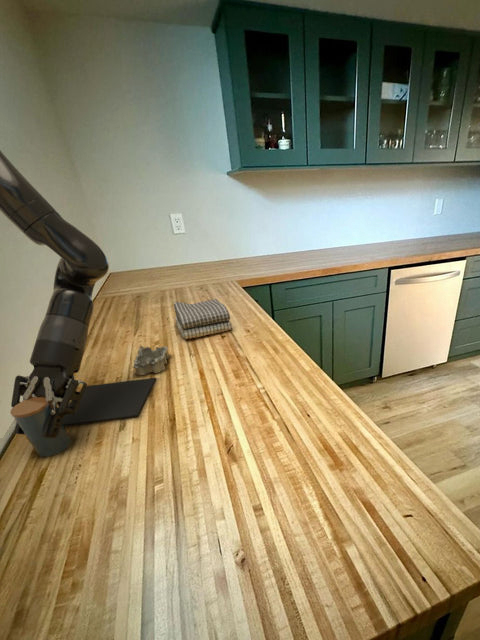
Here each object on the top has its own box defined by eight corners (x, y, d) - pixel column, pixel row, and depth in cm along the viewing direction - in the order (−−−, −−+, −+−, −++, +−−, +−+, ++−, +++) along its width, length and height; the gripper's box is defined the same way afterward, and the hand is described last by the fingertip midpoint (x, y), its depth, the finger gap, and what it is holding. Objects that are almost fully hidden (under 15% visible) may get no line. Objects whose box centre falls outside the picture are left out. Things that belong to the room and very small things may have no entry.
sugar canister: (30, 459, 60) (2, 417, 55) (47, 438, 65) (22, 398, 60) (62, 454, 60) (37, 412, 55) (77, 434, 65) (55, 394, 60)
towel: (184, 343, 99) (178, 318, 95) (175, 324, 113) (169, 301, 109) (234, 331, 104) (230, 306, 100) (219, 314, 118) (215, 292, 114)
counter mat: (51, 428, 67) (50, 426, 67) (84, 388, 80) (83, 386, 80) (138, 417, 68) (137, 414, 68) (156, 379, 81) (155, 377, 81)
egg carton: (144, 358, 92) (140, 344, 90) (172, 354, 93) (168, 341, 91) (133, 377, 83) (127, 362, 81) (164, 373, 84) (159, 358, 82)
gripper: (11, 336, 61) (-20, 430, 57) (75, 338, 57) (48, 438, 54) (49, 349, 68) (24, 433, 64) (108, 352, 65) (86, 441, 61)
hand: (35, 435), depth 59 cm, fingers closed on sugar canister, 5 cm apart
